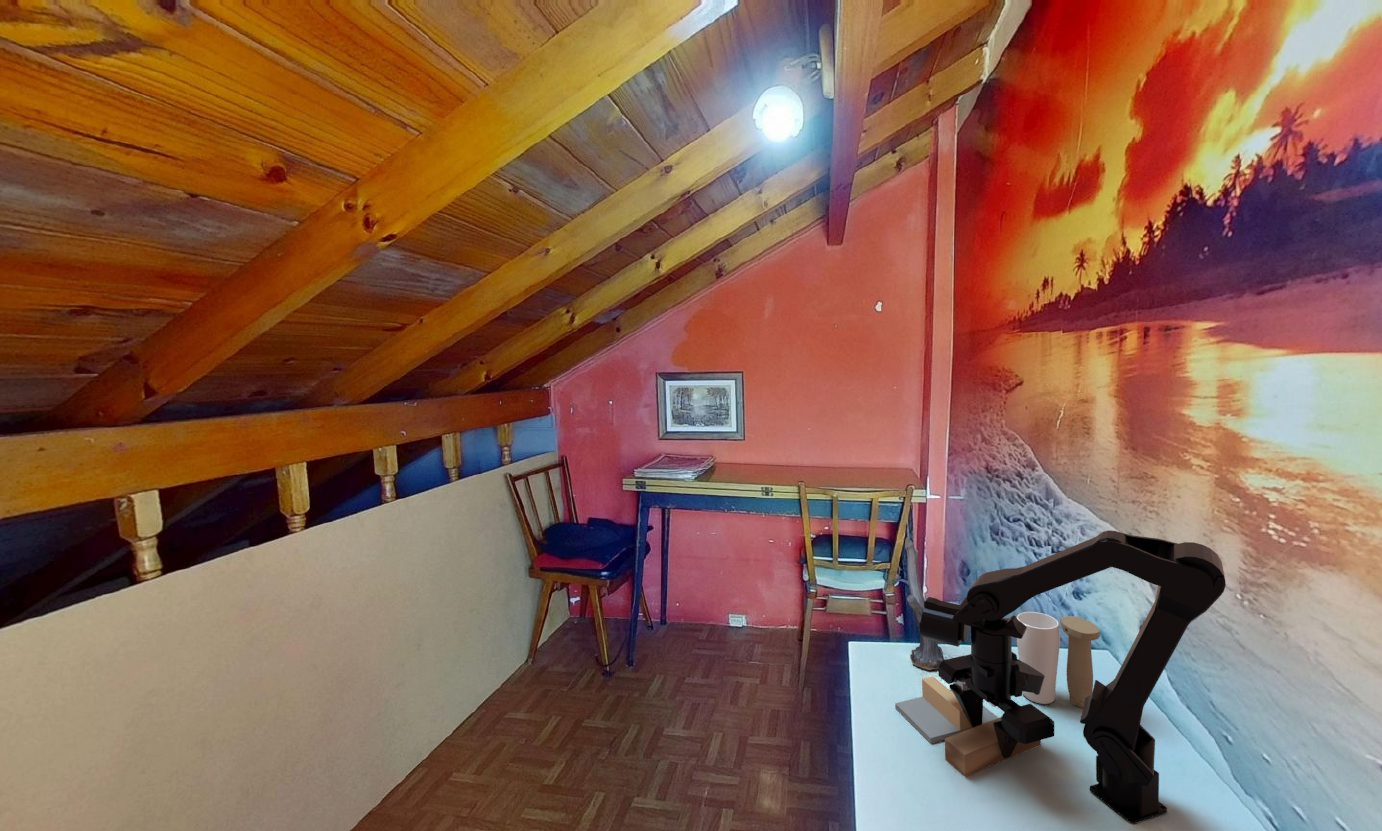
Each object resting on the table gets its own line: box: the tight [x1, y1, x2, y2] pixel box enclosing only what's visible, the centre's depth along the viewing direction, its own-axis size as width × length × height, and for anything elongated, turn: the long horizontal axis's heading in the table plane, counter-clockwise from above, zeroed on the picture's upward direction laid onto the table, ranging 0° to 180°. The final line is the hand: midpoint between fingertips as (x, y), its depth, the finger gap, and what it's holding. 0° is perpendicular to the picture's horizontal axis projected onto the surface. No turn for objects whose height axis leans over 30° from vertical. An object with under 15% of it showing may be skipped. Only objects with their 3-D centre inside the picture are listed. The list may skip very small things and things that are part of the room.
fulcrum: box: [894, 675, 999, 745], centre depth 100 cm, size 10×14×4 cm
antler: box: [904, 536, 946, 671], centre depth 118 cm, size 12×8×25 cm
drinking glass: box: [1016, 611, 1061, 705], centre depth 103 cm, size 7×7×15 cm
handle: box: [1059, 615, 1101, 709], centre depth 100 cm, size 5×6×15 cm
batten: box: [944, 716, 1042, 777], centre depth 91 cm, size 4×16×4 cm, turn 110°
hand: (991, 743), depth 91 cm, fingers open, 6 cm apart
